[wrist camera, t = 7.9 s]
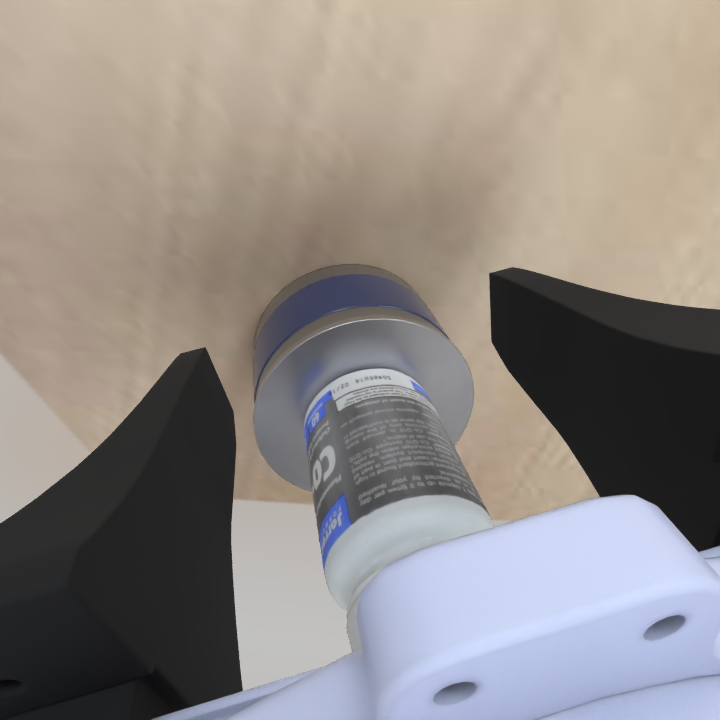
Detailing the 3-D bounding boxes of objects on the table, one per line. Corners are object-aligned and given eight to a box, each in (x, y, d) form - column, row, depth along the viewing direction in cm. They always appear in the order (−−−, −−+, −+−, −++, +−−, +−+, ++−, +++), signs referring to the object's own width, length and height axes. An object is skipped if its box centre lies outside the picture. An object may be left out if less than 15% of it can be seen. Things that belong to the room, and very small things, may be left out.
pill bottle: (289, 382, 16) (321, 631, 9) (424, 351, 17) (550, 567, 10) (315, 478, 19) (355, 727, 12) (432, 449, 19) (535, 675, 13)
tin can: (331, 445, 25) (348, 524, 21) (210, 346, 21) (201, 421, 17) (463, 349, 23) (510, 415, 19) (362, 219, 19) (394, 269, 15)
